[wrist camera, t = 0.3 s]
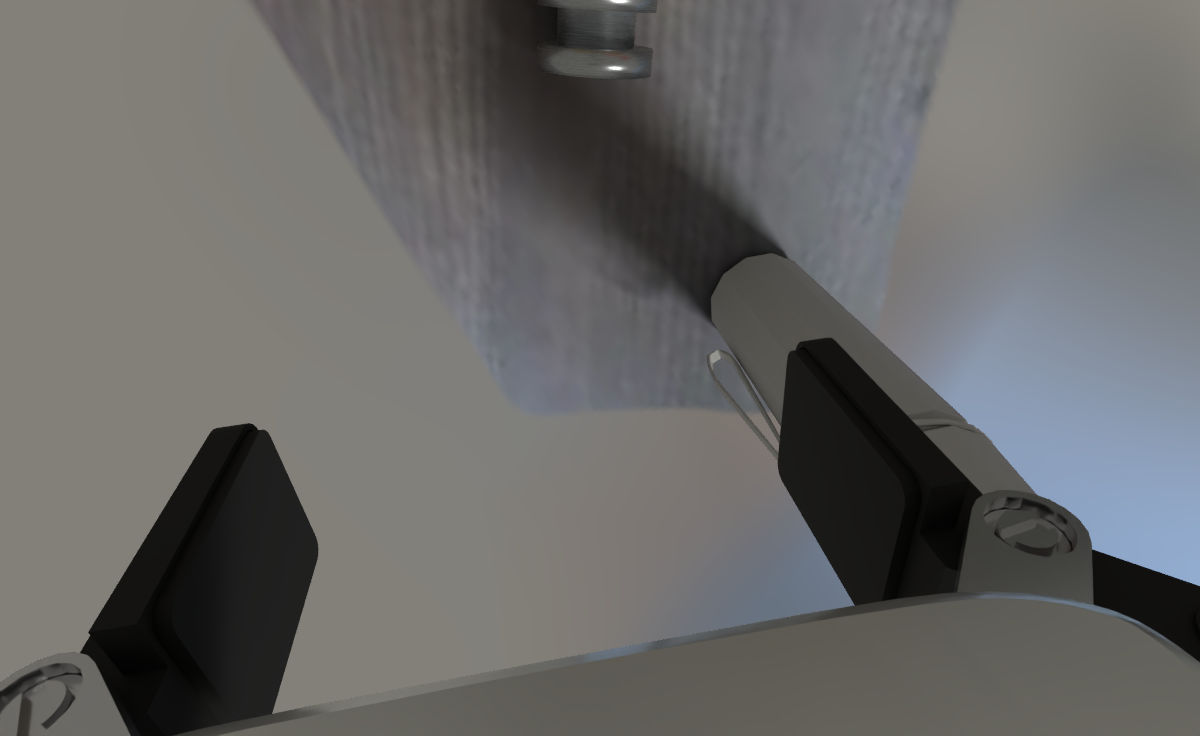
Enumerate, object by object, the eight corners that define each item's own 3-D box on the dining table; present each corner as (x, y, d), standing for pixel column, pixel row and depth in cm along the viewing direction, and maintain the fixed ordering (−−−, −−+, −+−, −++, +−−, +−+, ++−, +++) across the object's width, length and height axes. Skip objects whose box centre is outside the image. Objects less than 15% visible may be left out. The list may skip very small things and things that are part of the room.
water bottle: (790, 227, 43) (1078, 462, 22) (813, 319, 47) (1073, 591, 26) (666, 281, 44) (830, 560, 23) (699, 368, 48) (863, 670, 27)
